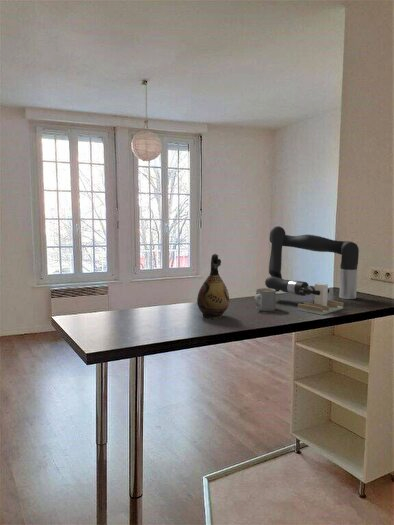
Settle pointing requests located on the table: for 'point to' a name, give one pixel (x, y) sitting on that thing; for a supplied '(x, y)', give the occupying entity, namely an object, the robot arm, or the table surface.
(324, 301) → the clay bar
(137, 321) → the table surface
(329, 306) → the drying rack
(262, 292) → the coffee mug
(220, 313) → the ceramic jug
